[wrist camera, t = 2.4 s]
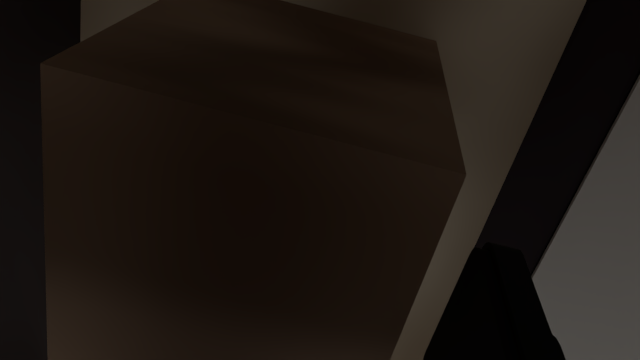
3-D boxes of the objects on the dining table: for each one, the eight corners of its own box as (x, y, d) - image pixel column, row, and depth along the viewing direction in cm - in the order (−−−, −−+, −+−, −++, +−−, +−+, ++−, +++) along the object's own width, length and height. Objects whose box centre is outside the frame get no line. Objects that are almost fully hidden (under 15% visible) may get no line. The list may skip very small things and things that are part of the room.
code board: (684, -219, 11) (687, -221, 11) (408, 389, 20) (408, 392, 20) (88, -376, 11) (84, -379, 11) (78, 303, 20) (76, 306, 20)
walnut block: (436, 41, 14) (466, 174, 8) (371, 235, 17) (355, 443, 11) (199, -21, 14) (40, 63, 8) (176, 184, 17) (47, 363, 11)
